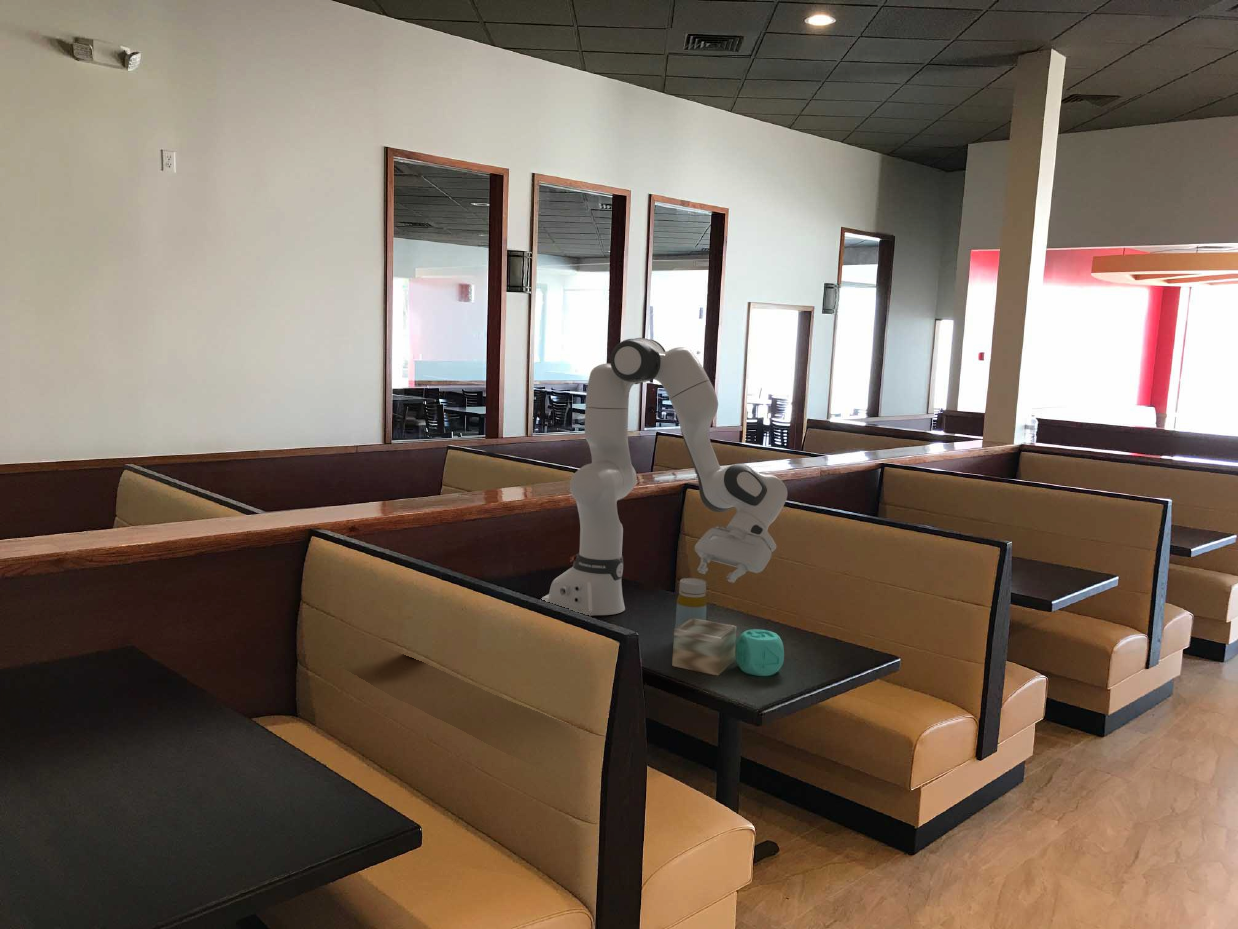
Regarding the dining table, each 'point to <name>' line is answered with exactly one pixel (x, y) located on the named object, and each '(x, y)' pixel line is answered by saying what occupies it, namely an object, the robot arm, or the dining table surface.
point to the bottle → (691, 601)
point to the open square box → (704, 646)
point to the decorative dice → (759, 652)
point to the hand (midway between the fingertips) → (714, 576)
